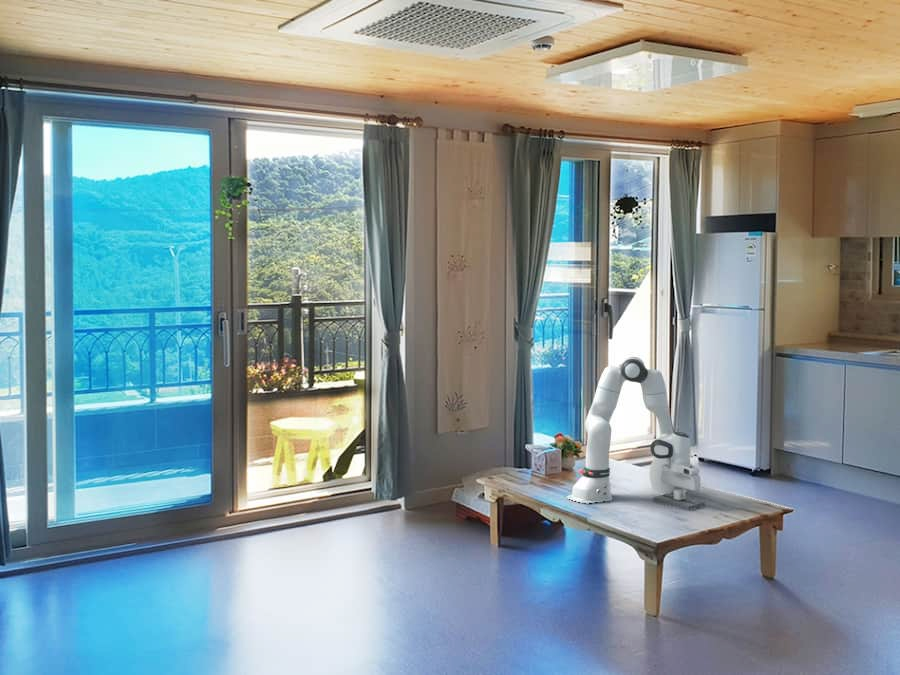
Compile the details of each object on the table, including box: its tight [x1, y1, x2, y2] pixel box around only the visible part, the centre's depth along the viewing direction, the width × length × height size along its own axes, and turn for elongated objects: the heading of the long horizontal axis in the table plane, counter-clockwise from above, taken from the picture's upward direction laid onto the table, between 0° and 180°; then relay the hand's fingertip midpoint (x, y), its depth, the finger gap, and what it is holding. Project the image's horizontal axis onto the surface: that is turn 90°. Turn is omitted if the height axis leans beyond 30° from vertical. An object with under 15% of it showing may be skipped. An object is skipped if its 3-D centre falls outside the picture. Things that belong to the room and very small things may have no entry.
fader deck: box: [652, 493, 706, 511], centre depth 406 cm, size 12×20×2 cm, turn 38°
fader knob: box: [674, 489, 685, 500], centre depth 405 cm, size 5×3×5 cm, turn 128°
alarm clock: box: [649, 457, 683, 495], centre depth 423 cm, size 21×8×20 cm, turn 18°
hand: (679, 496), depth 405 cm, fingers closed on fader knob, 3 cm apart
